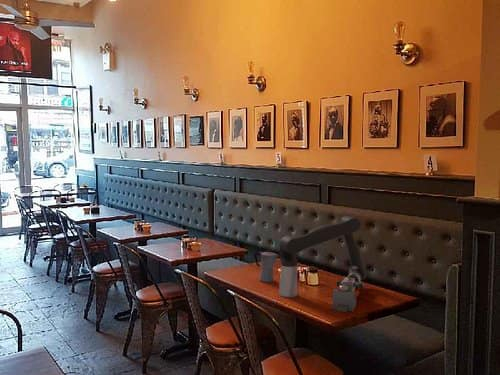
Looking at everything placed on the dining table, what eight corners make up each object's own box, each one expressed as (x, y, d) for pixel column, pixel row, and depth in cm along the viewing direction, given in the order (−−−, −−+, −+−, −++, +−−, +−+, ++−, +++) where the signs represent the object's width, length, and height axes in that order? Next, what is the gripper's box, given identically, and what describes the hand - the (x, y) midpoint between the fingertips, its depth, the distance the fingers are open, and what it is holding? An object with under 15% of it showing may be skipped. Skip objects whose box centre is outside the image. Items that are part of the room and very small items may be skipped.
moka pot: (277, 283, 290) (277, 251, 288) (252, 282, 292) (253, 250, 291) (278, 279, 299) (279, 248, 298) (254, 278, 302) (255, 247, 300)
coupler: (331, 310, 240) (332, 286, 240) (336, 303, 252) (337, 280, 251) (352, 312, 237) (352, 288, 236) (355, 305, 248) (356, 282, 248)
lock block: (341, 303, 252) (342, 280, 251) (344, 298, 262) (345, 276, 261) (351, 304, 250) (351, 281, 250) (354, 299, 260) (354, 277, 259)
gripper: (340, 272, 272) (335, 279, 257) (365, 275, 267) (361, 282, 251) (340, 285, 272) (334, 292, 257) (365, 288, 267) (361, 296, 252)
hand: (348, 287), depth 254 cm, fingers open, 8 cm apart
